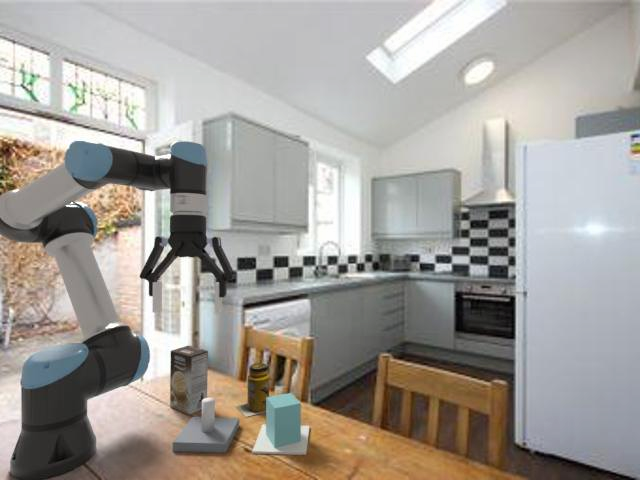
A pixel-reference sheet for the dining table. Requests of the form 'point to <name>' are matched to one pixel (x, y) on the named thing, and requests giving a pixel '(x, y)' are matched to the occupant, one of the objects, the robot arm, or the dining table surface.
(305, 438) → the mat
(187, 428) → the post base
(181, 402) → the coffee box
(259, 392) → the condiment
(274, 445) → the teal rectangular block
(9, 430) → the dining table surface
